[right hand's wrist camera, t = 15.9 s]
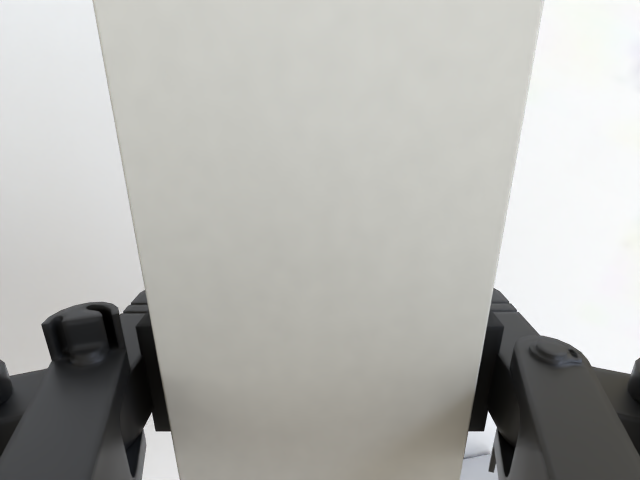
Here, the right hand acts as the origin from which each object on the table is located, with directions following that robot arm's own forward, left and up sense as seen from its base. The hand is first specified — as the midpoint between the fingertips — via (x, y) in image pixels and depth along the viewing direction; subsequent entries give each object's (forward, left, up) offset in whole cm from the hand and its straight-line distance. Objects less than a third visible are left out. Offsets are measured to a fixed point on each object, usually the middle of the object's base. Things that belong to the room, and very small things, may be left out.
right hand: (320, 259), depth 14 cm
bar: (+7, +8, -1) cm, 10 cm away
